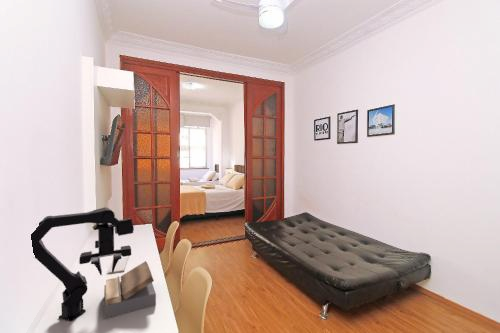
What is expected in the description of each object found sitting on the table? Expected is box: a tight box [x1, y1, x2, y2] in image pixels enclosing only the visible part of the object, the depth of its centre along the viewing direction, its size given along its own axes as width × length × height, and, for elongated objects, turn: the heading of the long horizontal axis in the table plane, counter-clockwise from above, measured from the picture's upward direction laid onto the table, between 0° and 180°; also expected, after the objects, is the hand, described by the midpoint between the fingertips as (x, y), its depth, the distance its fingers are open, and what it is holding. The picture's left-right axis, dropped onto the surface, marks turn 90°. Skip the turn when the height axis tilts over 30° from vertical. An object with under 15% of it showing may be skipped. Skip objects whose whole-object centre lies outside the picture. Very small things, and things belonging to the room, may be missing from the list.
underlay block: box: [103, 281, 157, 320], centre depth 108 cm, size 19×18×5 cm
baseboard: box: [106, 255, 130, 275], centre depth 147 cm, size 30×3×10 cm
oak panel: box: [105, 276, 121, 306], centre depth 105 cm, size 5×17×3 cm, turn 30°
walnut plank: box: [120, 260, 155, 300], centre depth 109 cm, size 12×17×2 cm
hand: (106, 273), depth 105 cm, fingers open, 4 cm apart
